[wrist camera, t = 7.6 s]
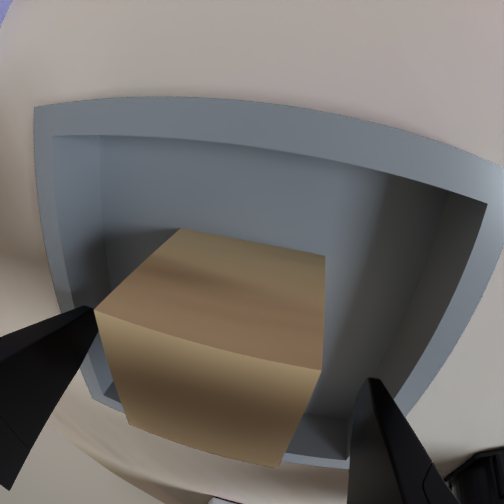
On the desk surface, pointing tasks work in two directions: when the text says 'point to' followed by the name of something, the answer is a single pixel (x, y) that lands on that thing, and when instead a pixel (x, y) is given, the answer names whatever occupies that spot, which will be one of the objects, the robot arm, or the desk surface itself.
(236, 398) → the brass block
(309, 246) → the tray
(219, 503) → the string lights box
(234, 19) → the desk surface
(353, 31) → the desk surface
